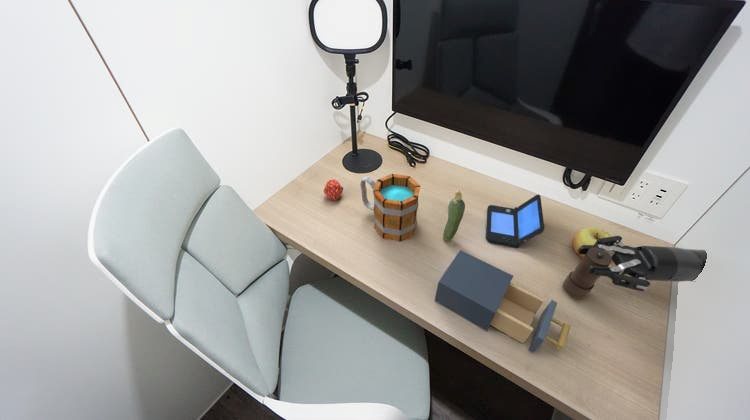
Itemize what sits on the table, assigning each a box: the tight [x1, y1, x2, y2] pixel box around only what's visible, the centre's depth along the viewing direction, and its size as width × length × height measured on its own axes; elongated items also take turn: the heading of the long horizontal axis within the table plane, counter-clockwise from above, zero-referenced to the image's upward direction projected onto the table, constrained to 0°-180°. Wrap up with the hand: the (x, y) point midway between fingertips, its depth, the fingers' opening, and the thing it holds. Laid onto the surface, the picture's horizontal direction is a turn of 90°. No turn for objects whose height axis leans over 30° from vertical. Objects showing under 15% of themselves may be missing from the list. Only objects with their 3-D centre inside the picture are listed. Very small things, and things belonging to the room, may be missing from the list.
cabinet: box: [434, 249, 514, 332], centre depth 76 cm, size 14×12×9 cm
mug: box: [359, 173, 421, 242], centre depth 94 cm, size 20×14×15 cm
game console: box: [485, 194, 545, 249], centre depth 93 cm, size 16×13×9 cm
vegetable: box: [442, 189, 466, 242], centre depth 86 cm, size 4×4×20 cm
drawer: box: [489, 281, 571, 354], centre depth 71 cm, size 17×10×7 cm, turn 54°
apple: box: [571, 226, 615, 259], centre depth 86 cm, size 10×10×8 cm
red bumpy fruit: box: [323, 179, 344, 201], centre depth 106 cm, size 6×7×8 cm
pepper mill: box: [562, 248, 613, 300], centre depth 74 cm, size 6×6×14 cm
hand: (584, 259), depth 71 cm, fingers closed on pepper mill, 5 cm apart
